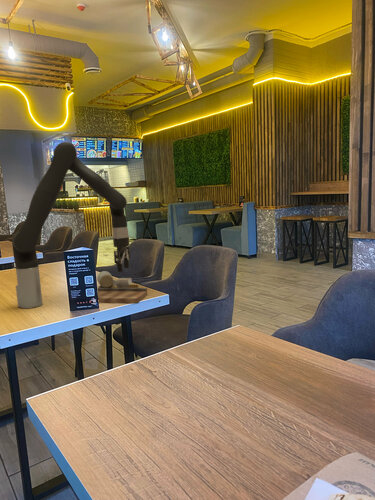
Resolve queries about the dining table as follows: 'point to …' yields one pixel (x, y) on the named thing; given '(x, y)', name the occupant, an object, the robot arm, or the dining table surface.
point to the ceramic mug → (106, 279)
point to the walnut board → (121, 295)
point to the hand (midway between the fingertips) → (123, 269)
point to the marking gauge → (126, 283)
